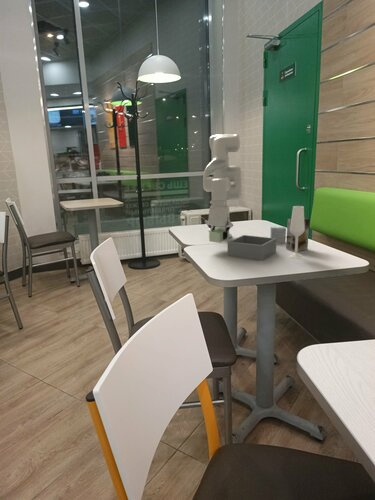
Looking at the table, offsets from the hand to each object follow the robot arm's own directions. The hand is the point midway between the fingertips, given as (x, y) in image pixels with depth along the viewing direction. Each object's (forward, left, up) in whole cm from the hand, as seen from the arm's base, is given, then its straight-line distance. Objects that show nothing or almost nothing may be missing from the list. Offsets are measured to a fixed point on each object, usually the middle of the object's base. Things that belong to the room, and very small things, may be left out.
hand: (219, 238), depth 182 cm
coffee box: (+33, +22, -7) cm, 41 cm away
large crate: (+17, +2, -7) cm, 19 cm away
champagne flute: (+37, +8, -7) cm, 39 cm away
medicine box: (+19, +32, -7) cm, 38 cm away
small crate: (0, 0, -1) cm, 1 cm away
